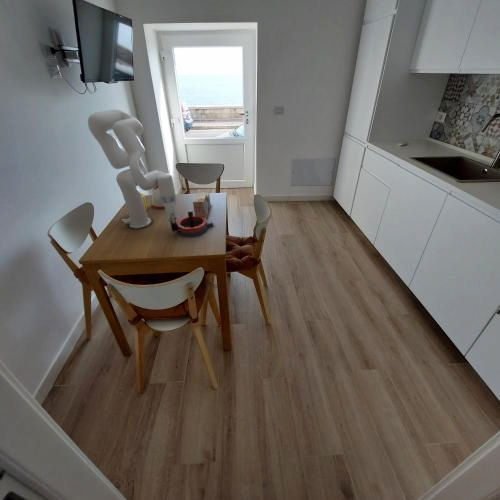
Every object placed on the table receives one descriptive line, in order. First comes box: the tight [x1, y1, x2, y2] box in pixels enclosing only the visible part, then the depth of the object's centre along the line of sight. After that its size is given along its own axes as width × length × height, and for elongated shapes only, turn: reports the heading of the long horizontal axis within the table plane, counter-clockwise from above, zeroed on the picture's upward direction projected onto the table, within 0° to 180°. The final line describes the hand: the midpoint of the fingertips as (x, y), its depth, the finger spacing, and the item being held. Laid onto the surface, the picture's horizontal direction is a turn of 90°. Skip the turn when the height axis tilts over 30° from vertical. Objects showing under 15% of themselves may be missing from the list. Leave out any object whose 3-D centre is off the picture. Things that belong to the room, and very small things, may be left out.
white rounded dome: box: [151, 186, 165, 210], centre depth 179 cm, size 14×14×15 cm
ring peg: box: [185, 209, 200, 228], centre depth 151 cm, size 8×8×12 cm
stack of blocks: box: [192, 191, 211, 220], centre depth 168 cm, size 21×6×12 cm, turn 179°
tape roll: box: [141, 193, 149, 212], centre depth 175 cm, size 10×10×9 cm
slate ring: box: [178, 220, 214, 238], centre depth 154 cm, size 19×16×2 cm
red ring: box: [176, 214, 208, 233], centre depth 152 cm, size 19×16×2 cm
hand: (174, 228), depth 150 cm, fingers open, 3 cm apart
